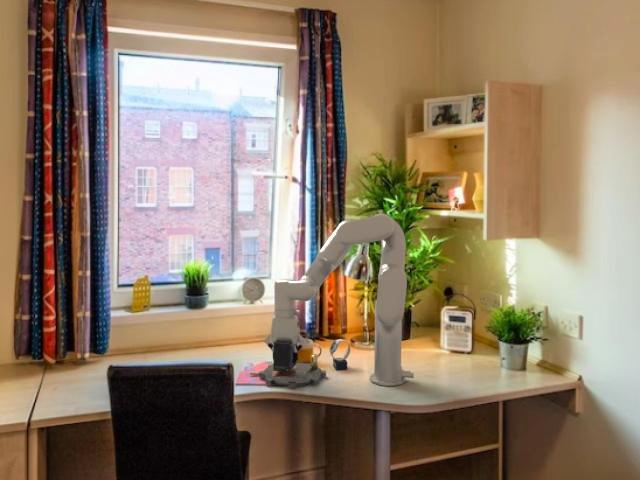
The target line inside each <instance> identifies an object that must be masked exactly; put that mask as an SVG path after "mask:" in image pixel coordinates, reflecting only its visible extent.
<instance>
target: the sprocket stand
mask: <svg viewBox="0 0 640 480" xmlns="http://www.w3.org/2000/svg"><path fill="white" fill-rule="evenodd" d="M259 373H260V371H253V370H252V371H250V372H249V376H250V375H259Z"/></svg>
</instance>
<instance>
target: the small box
mask: <svg viewBox="0 0 640 480" xmlns="http://www.w3.org/2000/svg"><path fill="white" fill-rule="evenodd" d="M272 344H273V351H272V360H273V361H272V362H273V363H272V364H273V371H283V372H290V371H291V369H292V368H293V367H294V366H295V365H296V363H295V364H293V352H294V350H293V345H292V342H290V341H277V340H276V341H275V342H274V343H272ZM273 356H274V357H273Z"/></svg>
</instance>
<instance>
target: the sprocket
mask: <svg viewBox="0 0 640 480" xmlns="http://www.w3.org/2000/svg"><path fill="white" fill-rule="evenodd" d="M259 372H260V373H259V376H258V378H261V379H262V378H263V380H265V384H266V385H269V386H272V385H274V386H278V387H287V388H288V389H289V388H292V389H294V388H295V389H296V388H297V387H305V386H306V387H307V386H309V385H313V386H315V385H318V384H320V381H321V380H322V378H326V377H327V370H322V369H321V368H320V367H319V365H318V354H317V353H312V354H310V363H305V362H298V361H296V365H295V366H294V367H293V368H292V369H291V371H290V372H283V371H273V363H272V364H268V365H267V367H266V368H265V369H264V370H259Z"/></svg>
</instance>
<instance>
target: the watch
mask: <svg viewBox="0 0 640 480" xmlns="http://www.w3.org/2000/svg"><path fill="white" fill-rule="evenodd" d="M342 342H343V343H346V344H347V345H348V346H347V349H346V352H345V353H344V355H343V357H335V356H334V354H335V352H336V351H337V350H338V348H339V344H341V343H342ZM328 350H329V351H328V352H329V354H330V356H331V357H332V367H333V369H334V370H335V371H346V370H348V361H347V358H349V356H350V354H351V346H350V344H349V342H348V341H347V340H345V339H344V338H343V339H342V338H339V339H335V340H334V341H332V342H331V345H330V347H329V349H328Z"/></svg>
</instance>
